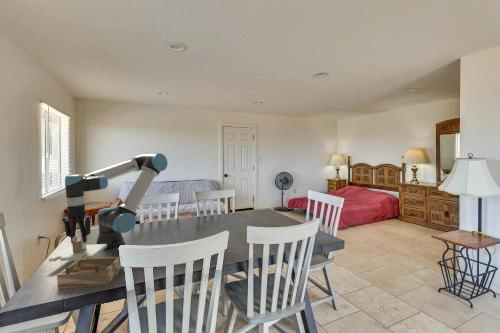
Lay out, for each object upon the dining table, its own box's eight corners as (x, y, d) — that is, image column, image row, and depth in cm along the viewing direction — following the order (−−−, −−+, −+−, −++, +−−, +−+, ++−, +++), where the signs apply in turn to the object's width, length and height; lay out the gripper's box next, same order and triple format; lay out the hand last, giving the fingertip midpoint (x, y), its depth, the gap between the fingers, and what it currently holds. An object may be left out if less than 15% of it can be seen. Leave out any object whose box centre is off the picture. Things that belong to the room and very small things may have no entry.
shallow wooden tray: (79, 270, 125) (78, 253, 124) (122, 268, 126) (121, 251, 126) (57, 288, 109) (56, 269, 108) (106, 285, 111) (105, 266, 110)
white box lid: (69, 248, 141) (68, 235, 140) (107, 246, 142) (106, 233, 142) (49, 261, 125) (47, 246, 124) (91, 259, 126) (90, 244, 126)
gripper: (54, 207, 127) (58, 252, 129) (88, 205, 128) (92, 250, 130) (63, 203, 134) (67, 246, 136) (96, 202, 136) (99, 245, 138)
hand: (79, 248), depth 133 cm, fingers closed on white box lid, 3 cm apart
